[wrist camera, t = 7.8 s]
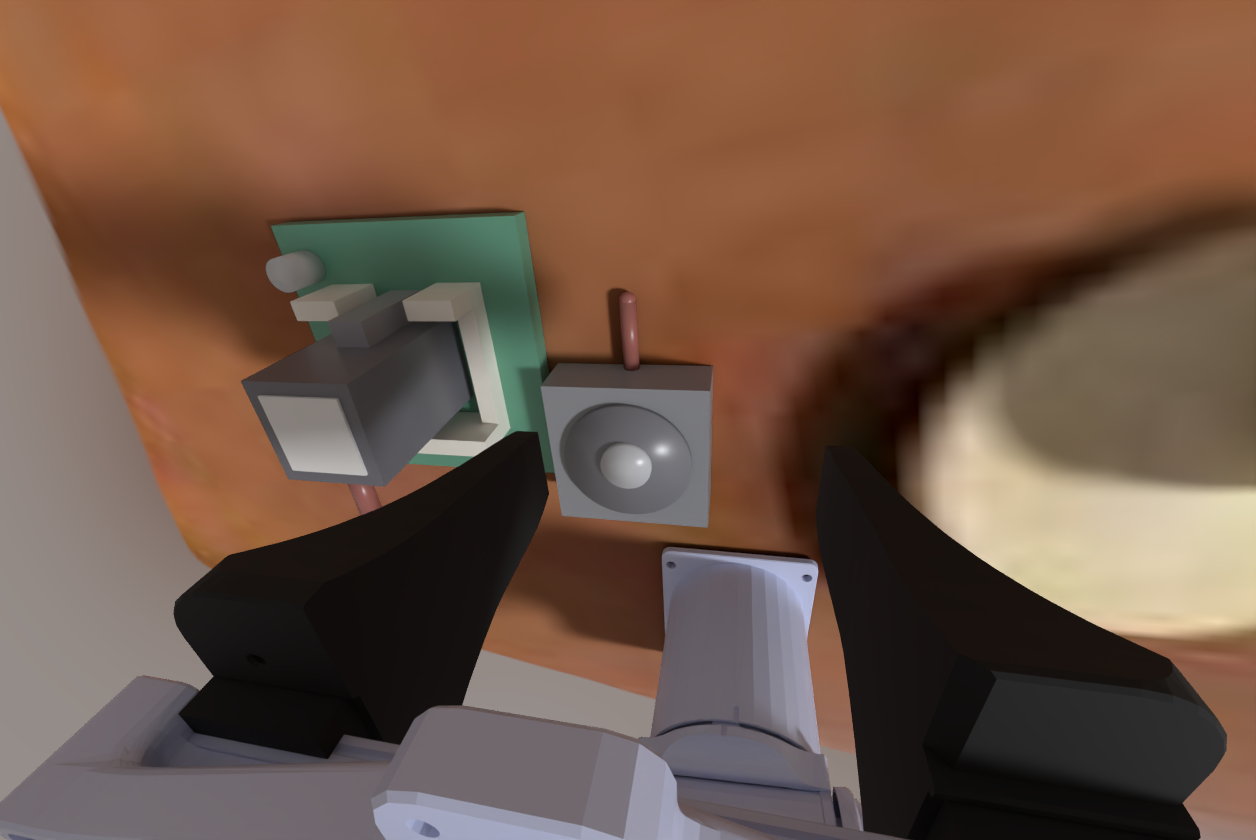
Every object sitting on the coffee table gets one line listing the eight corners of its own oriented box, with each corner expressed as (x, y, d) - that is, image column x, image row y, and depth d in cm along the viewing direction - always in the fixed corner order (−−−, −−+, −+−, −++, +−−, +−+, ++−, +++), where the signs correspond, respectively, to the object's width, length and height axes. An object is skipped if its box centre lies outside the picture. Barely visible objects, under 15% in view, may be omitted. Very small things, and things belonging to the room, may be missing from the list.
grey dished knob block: (710, 494, 25) (706, 536, 23) (575, 485, 27) (558, 523, 24) (714, 288, 20) (710, 312, 18) (547, 290, 22) (521, 313, 19)
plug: (485, 445, 25) (405, 547, 19) (413, 441, 26) (314, 538, 20) (448, 289, 21) (333, 356, 15) (364, 290, 22) (223, 353, 16)
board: (562, 461, 26) (540, 505, 23) (374, 450, 28) (331, 489, 25) (524, 211, 20) (486, 227, 17) (288, 222, 22) (219, 237, 19)
